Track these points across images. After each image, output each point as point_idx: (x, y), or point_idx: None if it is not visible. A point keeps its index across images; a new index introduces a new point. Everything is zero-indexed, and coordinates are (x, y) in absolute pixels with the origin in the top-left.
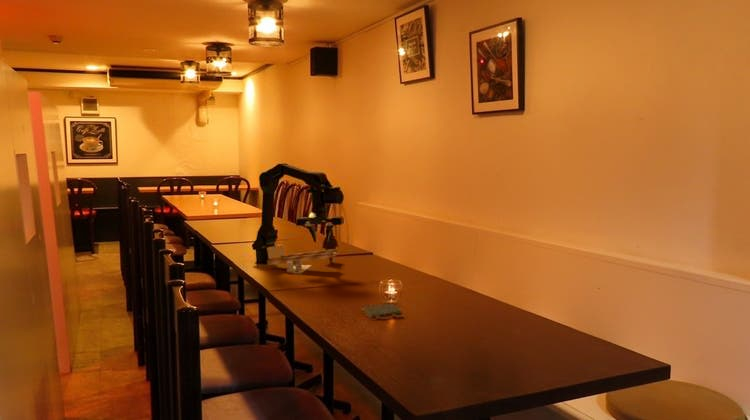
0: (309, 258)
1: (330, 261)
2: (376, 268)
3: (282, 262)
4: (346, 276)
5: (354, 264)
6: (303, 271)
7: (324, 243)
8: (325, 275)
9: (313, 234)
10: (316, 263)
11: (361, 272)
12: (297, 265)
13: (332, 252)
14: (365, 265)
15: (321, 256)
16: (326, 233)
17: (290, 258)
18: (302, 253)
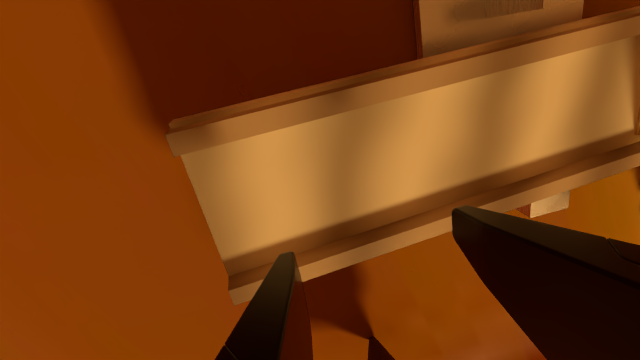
0: (413, 62)
1: (373, 338)
2: (7, 282)
3: (624, 10)
4: (37, 6)
5: (215, 329)
6: (421, 50)
7: None
8: (227, 10)
9: (568, 253)
10: (434, 295)
11: (20, 159)
12: None
13: (172, 133)
14: (135, 326)
15: (298, 90)
16: (272, 346)
17: (589, 25)
18: (529, 189)
